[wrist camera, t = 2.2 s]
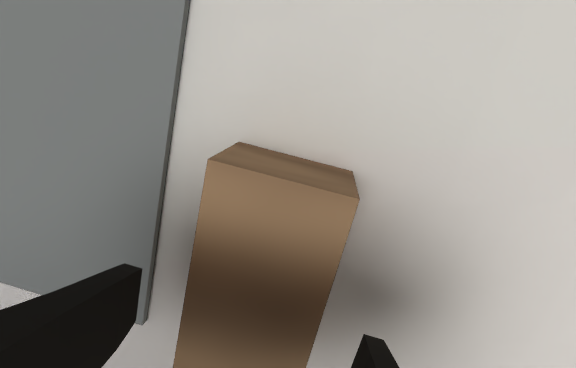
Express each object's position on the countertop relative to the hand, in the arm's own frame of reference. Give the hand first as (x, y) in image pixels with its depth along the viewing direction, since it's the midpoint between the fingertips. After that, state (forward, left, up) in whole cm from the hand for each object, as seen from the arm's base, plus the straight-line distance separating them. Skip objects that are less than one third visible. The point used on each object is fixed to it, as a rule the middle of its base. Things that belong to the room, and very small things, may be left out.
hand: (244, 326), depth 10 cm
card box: (0, 0, -6) cm, 6 cm away
